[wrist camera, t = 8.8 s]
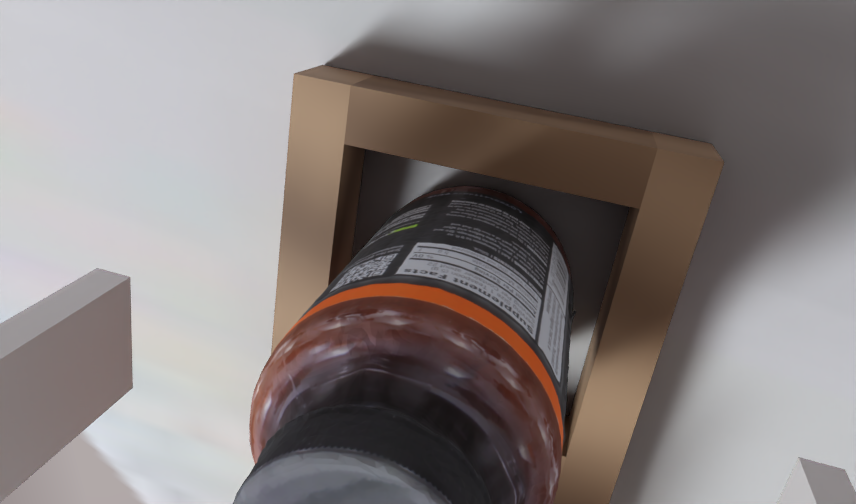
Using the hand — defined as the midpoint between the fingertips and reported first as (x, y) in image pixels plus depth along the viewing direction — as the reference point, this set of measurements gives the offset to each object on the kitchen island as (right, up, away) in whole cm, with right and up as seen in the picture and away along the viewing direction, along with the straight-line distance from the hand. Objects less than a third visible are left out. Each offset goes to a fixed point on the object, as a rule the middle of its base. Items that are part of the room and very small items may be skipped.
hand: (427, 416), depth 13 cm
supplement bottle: (+1, +3, +7) cm, 8 cm away
